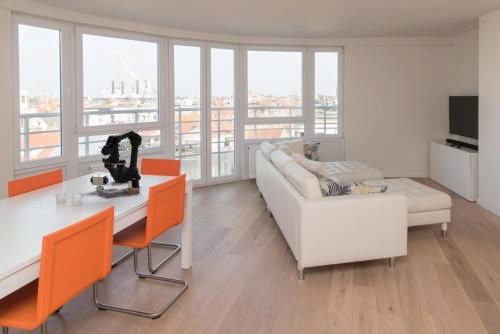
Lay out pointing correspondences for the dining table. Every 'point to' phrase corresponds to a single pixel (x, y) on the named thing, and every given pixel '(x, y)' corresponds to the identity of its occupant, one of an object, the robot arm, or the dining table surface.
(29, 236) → the dining table surface
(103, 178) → the pneumatic valve
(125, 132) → the robot arm
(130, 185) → the steel pin
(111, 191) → the socket plate
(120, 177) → the squash
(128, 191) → the walnut mount
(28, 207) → the dining table surface
